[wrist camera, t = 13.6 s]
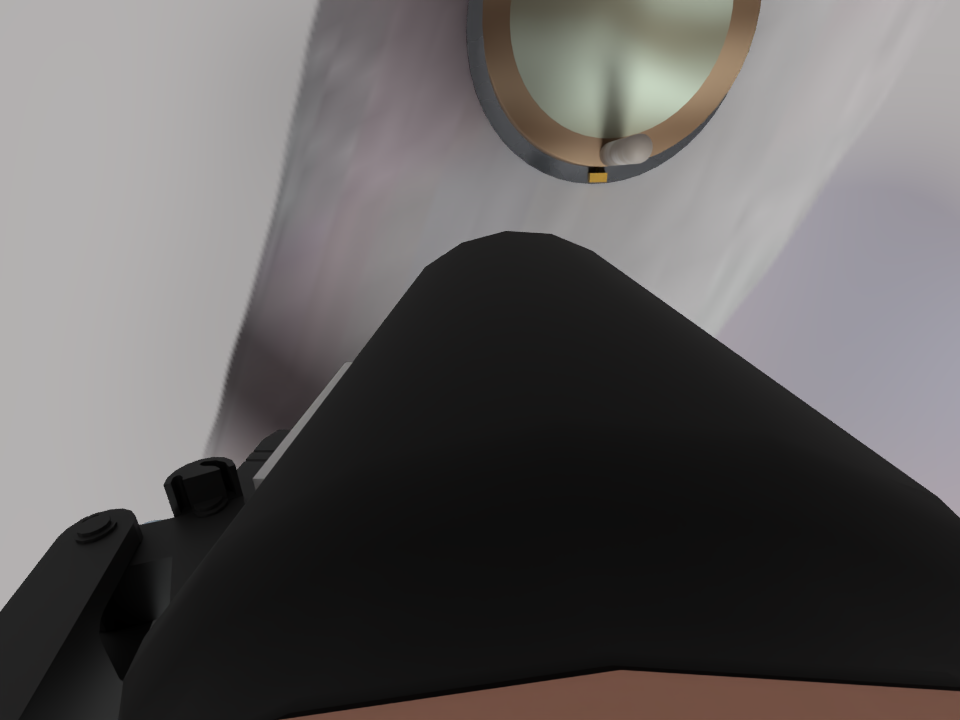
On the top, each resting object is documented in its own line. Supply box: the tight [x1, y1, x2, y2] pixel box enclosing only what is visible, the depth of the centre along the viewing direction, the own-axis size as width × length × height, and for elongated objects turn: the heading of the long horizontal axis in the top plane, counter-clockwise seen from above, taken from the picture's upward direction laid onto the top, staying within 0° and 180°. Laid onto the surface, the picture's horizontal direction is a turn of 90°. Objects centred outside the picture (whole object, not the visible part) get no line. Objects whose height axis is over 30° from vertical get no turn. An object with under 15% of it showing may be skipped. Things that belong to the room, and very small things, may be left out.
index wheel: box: [482, 0, 761, 167], centre depth 24 cm, size 16×16×9 cm
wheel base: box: [466, 0, 728, 184], centre depth 29 cm, size 18×18×1 cm
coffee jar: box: [118, 231, 960, 720], centre depth 11 cm, size 11×11×18 cm
